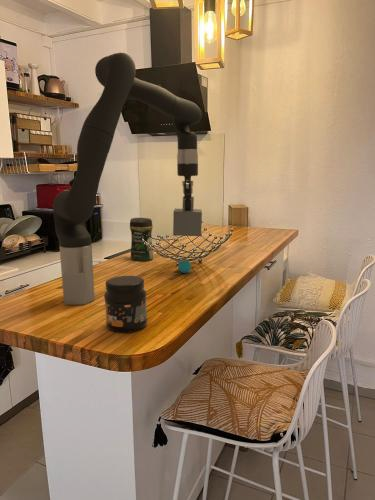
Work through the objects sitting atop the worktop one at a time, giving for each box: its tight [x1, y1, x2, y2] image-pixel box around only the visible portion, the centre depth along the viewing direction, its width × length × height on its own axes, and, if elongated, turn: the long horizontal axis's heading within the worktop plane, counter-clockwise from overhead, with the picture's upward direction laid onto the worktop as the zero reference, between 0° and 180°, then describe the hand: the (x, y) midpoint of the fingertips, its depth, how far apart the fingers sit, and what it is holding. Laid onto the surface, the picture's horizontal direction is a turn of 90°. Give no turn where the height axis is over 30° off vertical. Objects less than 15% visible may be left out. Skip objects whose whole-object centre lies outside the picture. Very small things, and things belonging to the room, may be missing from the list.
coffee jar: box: [129, 217, 154, 262], centre depth 172 cm, size 10×8×19 cm
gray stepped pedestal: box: [172, 196, 203, 237], centre depth 147 cm, size 10×10×14 cm
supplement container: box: [103, 275, 148, 333], centre depth 100 cm, size 10×10×12 cm
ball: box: [177, 259, 192, 274], centre depth 151 cm, size 5×5×5 cm
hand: (188, 209), depth 146 cm, fingers closed on gray stepped pedestal, 4 cm apart
